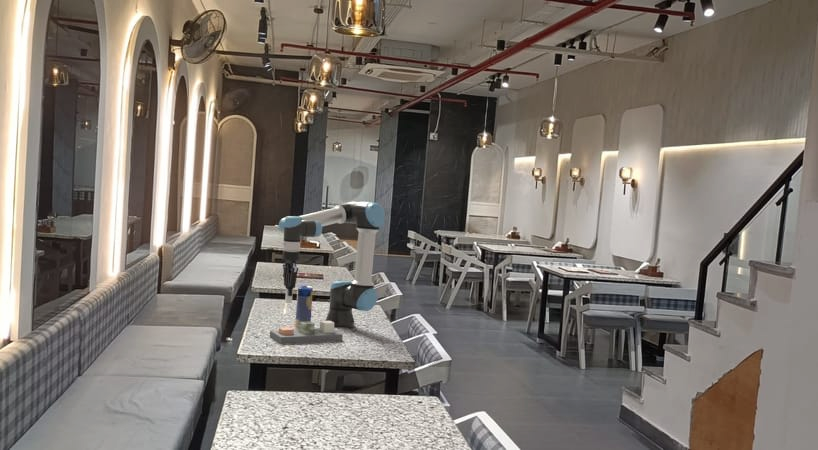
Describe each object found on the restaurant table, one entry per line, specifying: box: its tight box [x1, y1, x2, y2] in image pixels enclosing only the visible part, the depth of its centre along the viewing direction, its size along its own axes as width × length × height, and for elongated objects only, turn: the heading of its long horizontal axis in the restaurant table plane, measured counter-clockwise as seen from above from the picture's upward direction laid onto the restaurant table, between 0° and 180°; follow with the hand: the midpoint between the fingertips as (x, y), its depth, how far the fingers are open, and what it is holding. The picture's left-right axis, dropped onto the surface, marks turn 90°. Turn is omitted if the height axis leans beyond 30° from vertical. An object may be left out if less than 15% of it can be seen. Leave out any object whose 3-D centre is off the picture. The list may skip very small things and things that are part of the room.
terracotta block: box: [278, 326, 294, 335], centre depth 324 cm, size 5×5×5 cm
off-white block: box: [319, 320, 335, 333], centre depth 334 cm, size 5×5×5 cm
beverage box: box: [294, 285, 314, 329], centre depth 346 cm, size 7×11×22 cm, turn 10°
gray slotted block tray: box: [269, 327, 344, 345], centre depth 329 cm, size 30×14×4 cm, turn 121°
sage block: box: [300, 321, 315, 334], centre depth 329 cm, size 5×5×5 cm
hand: (288, 302), depth 323 cm, fingers closed
